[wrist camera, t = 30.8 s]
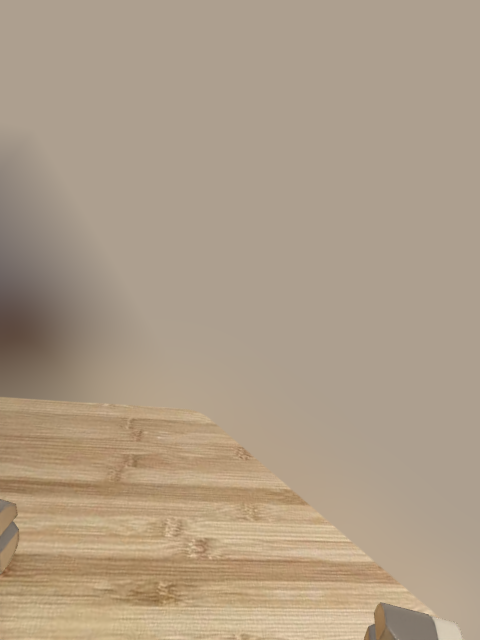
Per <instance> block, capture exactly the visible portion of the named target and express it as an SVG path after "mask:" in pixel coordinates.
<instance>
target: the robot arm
mask: <svg viewBox="0 0 480 640" xmlns="http://www.w3.org/2000/svg"><path fill="white" fill-rule="evenodd" d="M17 515H18V514H17V507H16V504H15V503H11V502H8V501H5V500H1V499H0V574H1V573H2V572H3V571H4V570H5V568H6V567H7V566H8V564H9V563H10V561H11V559H12V557H13V555H14V553H15V551H16V549H17V545H18V540H19V529H18V527H17V526H16V525H15V523H14V522H13V520H14V519H15V517H16V516H17ZM374 619H375V624H373V625H371V626H369V627H368V629H367V632H366V634H365V637H364V640H463V636H462V633H461V629H460V628H459V626H458V625H457V623H455V622H452V621H448V620H444V619H440V618H437V617H433V616H429V615H428V614H424V613H420V612H417V611H413V610H409V609H405V608H401V607H397V606H393V605H389V604H385V603H379V604H378V605H377V607H376V609H375V612H374Z"/></svg>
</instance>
